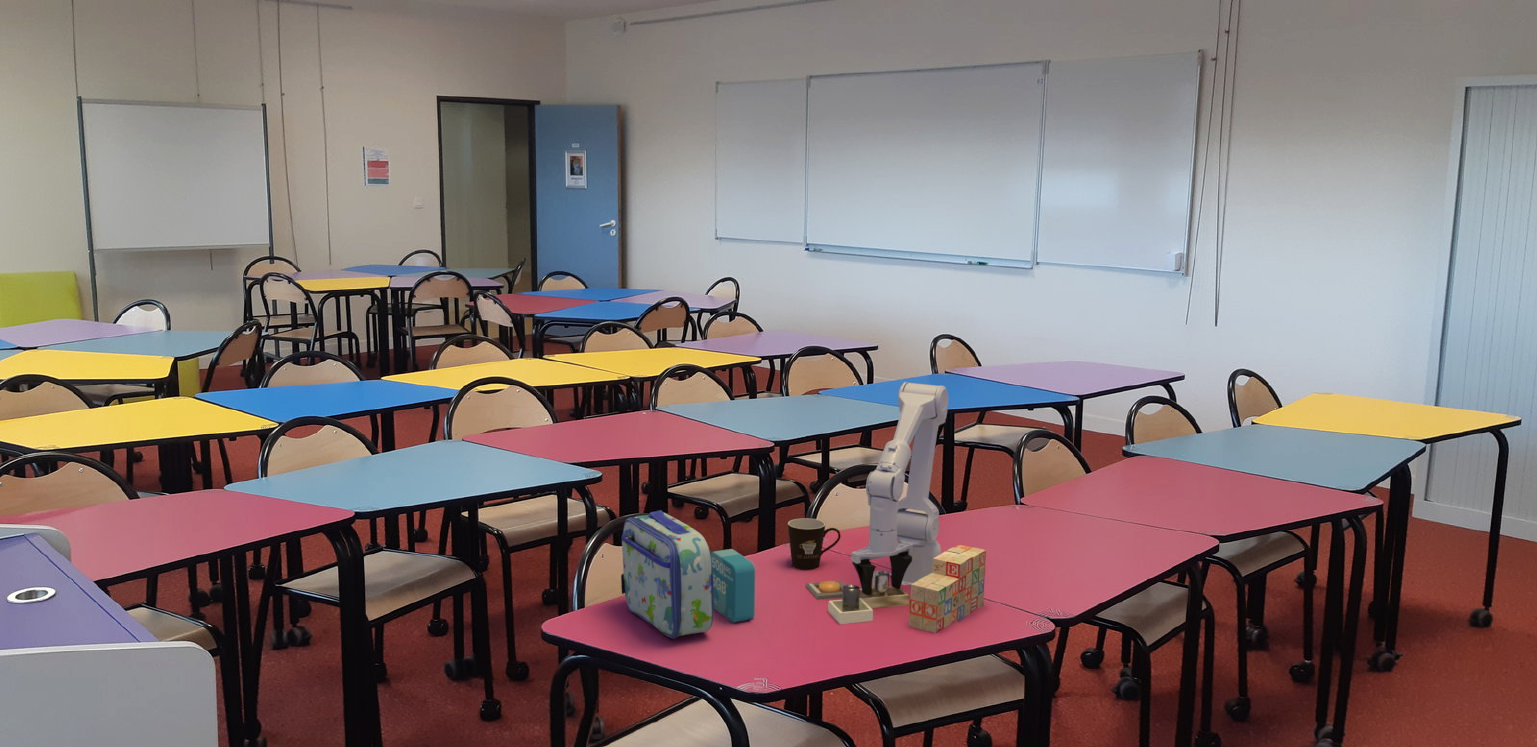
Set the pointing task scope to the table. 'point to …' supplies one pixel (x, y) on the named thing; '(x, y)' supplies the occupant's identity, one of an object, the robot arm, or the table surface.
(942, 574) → the stack of blocks
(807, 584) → the grey square frame
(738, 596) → the data package
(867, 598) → the trough
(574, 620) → the table surface
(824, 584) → the button
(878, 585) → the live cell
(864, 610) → the white square tray
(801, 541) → the coffee mug
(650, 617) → the lunch box
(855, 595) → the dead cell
